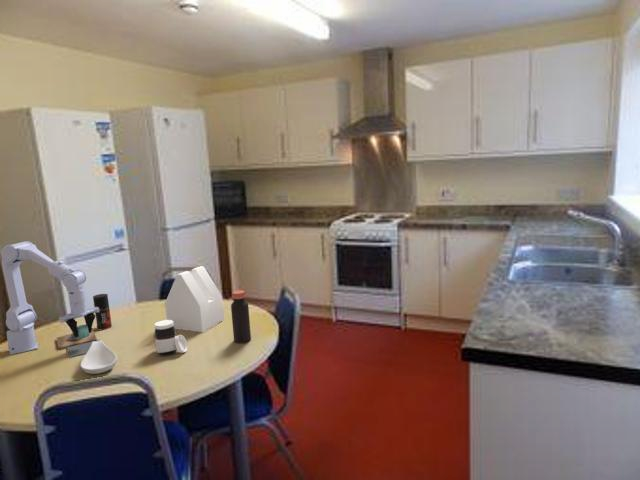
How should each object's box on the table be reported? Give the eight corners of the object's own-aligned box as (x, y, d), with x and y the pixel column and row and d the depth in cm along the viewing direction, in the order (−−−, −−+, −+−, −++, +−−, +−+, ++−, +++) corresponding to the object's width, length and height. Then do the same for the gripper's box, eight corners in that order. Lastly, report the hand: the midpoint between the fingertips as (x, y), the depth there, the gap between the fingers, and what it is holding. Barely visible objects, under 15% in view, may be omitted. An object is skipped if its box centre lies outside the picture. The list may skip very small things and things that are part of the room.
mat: (68, 358, 172) (68, 357, 172) (66, 348, 182) (66, 347, 182) (103, 349, 178) (103, 348, 178) (99, 340, 188) (99, 339, 188)
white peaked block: (224, 320, 205) (219, 267, 201) (202, 332, 192) (197, 275, 187) (190, 316, 213) (185, 265, 209) (167, 328, 199) (161, 273, 195)
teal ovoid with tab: (73, 336, 179) (72, 327, 179) (85, 332, 183) (83, 323, 182) (80, 339, 175) (78, 329, 175) (92, 335, 179) (90, 326, 178)
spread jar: (155, 349, 176) (152, 320, 174) (185, 343, 180) (182, 315, 178) (157, 360, 165) (154, 330, 163) (189, 354, 169) (186, 324, 167)
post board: (58, 350, 180) (57, 343, 180) (57, 339, 192) (55, 333, 191) (96, 341, 187) (95, 334, 187) (93, 331, 199) (92, 325, 199)
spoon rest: (119, 372, 157) (117, 353, 156) (82, 381, 152) (78, 362, 150) (114, 350, 178) (112, 333, 177) (81, 357, 172) (78, 339, 171)
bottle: (247, 343, 176) (243, 294, 173) (231, 343, 178) (226, 294, 174) (253, 337, 183) (249, 289, 179) (237, 336, 184) (233, 289, 181)
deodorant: (108, 324, 208) (103, 293, 206) (114, 326, 205) (109, 294, 202) (95, 328, 204) (90, 296, 201) (101, 330, 200) (96, 298, 198)
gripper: (62, 308, 168) (68, 342, 171) (101, 298, 180) (105, 330, 182) (54, 305, 173) (60, 339, 175) (92, 295, 184) (97, 327, 186)
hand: (82, 334), depth 179 cm, fingers closed on teal ovoid with tab, 5 cm apart
